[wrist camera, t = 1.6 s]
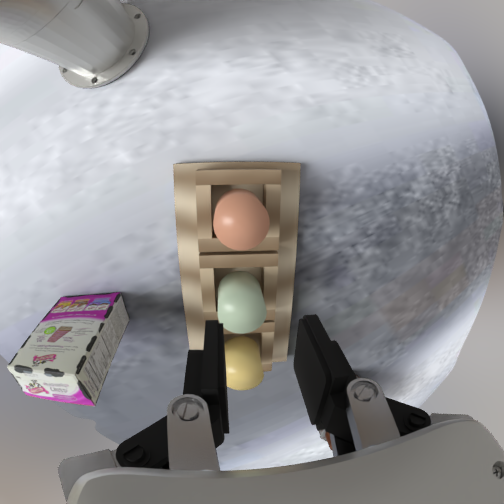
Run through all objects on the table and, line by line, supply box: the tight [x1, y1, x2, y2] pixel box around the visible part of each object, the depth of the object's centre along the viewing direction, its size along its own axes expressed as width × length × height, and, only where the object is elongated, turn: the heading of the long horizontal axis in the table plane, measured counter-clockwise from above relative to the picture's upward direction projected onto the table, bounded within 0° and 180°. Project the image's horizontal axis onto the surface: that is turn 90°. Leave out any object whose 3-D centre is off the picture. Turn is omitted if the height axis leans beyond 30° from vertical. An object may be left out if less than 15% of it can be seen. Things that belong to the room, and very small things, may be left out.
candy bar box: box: [7, 292, 129, 406], centre depth 27 cm, size 11×5×16 cm, turn 95°
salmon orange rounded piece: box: [213, 188, 270, 250], centre depth 26 cm, size 5×5×5 cm
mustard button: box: [224, 336, 264, 390], centre depth 32 cm, size 5×5×5 cm
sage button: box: [218, 271, 267, 334], centre depth 29 cm, size 5×5×5 cm
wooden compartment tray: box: [173, 162, 300, 372], centre depth 33 cm, size 28×14×4 cm, turn 179°
